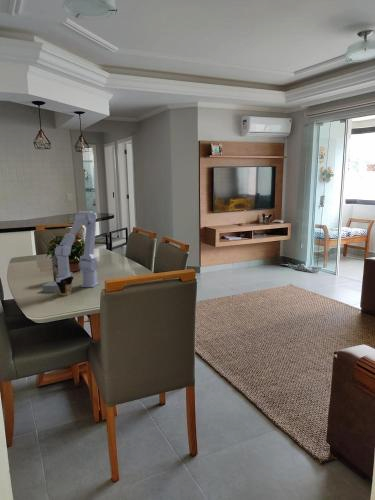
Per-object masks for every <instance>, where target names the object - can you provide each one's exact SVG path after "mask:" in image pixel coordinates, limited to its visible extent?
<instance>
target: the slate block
mask: <svg viewBox="0 0 375 500" xmlns="http://www.w3.org/2000/svg"><path fill="white" fill-rule="evenodd" d="M41 286H42V288H41V289H42V292H44V293H57V292H59V287H58V285H57V284H56V282H54V280H53V281H49V282H46V283H44V284H42V285H41Z"/></svg>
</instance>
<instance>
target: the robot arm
mask: <svg viewBox="0 0 375 500" xmlns="http://www.w3.org/2000/svg"><path fill="white" fill-rule="evenodd" d="M96 219H97V215H96V213H94V211H92V210H89V211H88V210H87V211H86V210H78V211H77V212H76V214H75V216H74V221H73V223H72V226H71V227H70V229H69V231H68V233H66V234H64V235H63V238H62V239H61V242H60V243H59V245H57V246H56V247H55V248H54V251H53V252H54V256H56V257H57V260H58V271H59V275H57V278H56V284H57V285H58V287H59V289H60V292H61V293H65V287H66V284H72V282H73V280H74V274H73V271H71V270H70V263H69V262H70V261H69V256H70V254H71V251H72V246H73V244H74V243H75V240H76V234H77V233H78V231H79V230H80V229H81V228H82V226H84V227H85V238H84V246H83V247H84V248H83V254H82V255H81V256H80V259H79V262H78V268H79V270H81V272H82V275H81V276H82V284H81V285H80V287H81V288H93V287H94V288H95V286H97V285H99V284H100V281H98V272H97V268H98V259H97V257H96V256H95V255H94V252H95V241H96V230H97V229H96V228H97V223H96Z"/></svg>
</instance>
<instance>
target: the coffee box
mask: <svg viewBox="0 0 375 500" xmlns="http://www.w3.org/2000/svg"><path fill="white" fill-rule="evenodd" d="M51 265H52V276H53V282H56V278H57V275H59V271H58V260H57V257H56V255H52V256H51Z"/></svg>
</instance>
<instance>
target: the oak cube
mask: <svg viewBox="0 0 375 500" xmlns="http://www.w3.org/2000/svg"><path fill="white" fill-rule="evenodd" d="M58 293H59V294H58V295H59V296H69V295H71V294H73V284H72V283H71V284H66V287H65V293H61V292H60V289H59V291H58Z"/></svg>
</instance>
